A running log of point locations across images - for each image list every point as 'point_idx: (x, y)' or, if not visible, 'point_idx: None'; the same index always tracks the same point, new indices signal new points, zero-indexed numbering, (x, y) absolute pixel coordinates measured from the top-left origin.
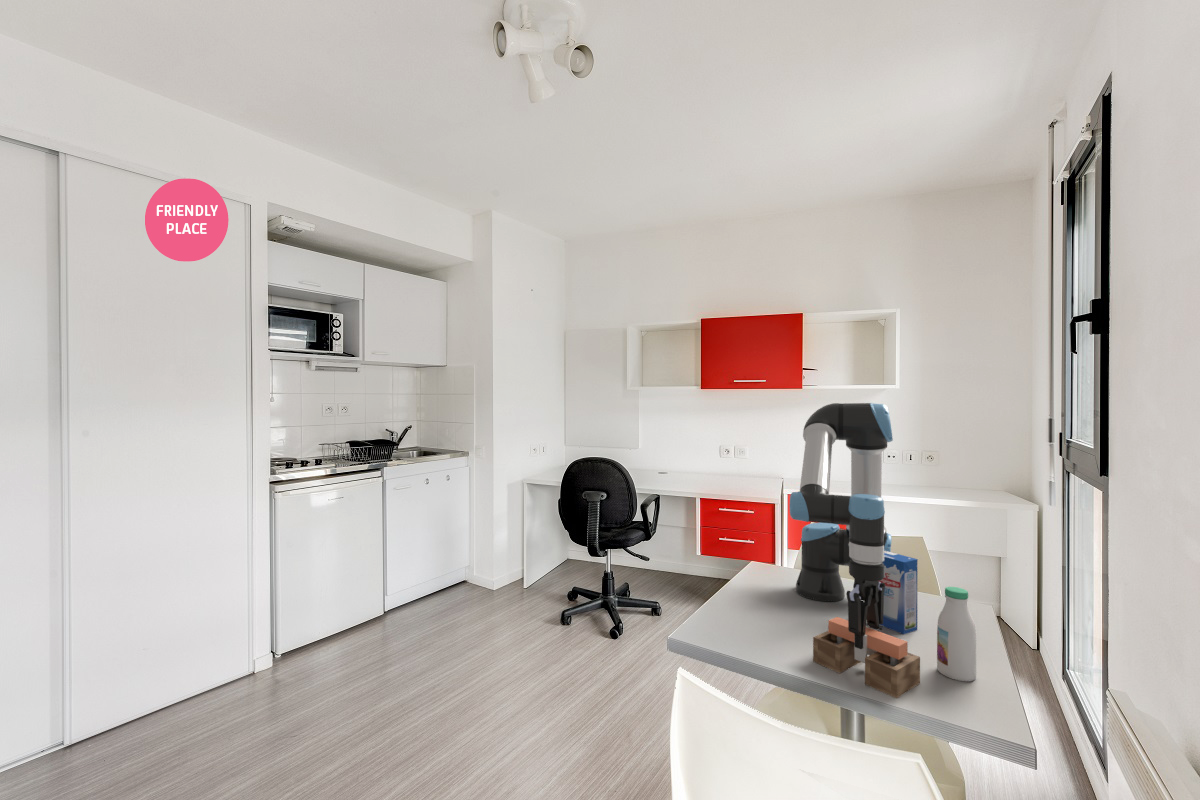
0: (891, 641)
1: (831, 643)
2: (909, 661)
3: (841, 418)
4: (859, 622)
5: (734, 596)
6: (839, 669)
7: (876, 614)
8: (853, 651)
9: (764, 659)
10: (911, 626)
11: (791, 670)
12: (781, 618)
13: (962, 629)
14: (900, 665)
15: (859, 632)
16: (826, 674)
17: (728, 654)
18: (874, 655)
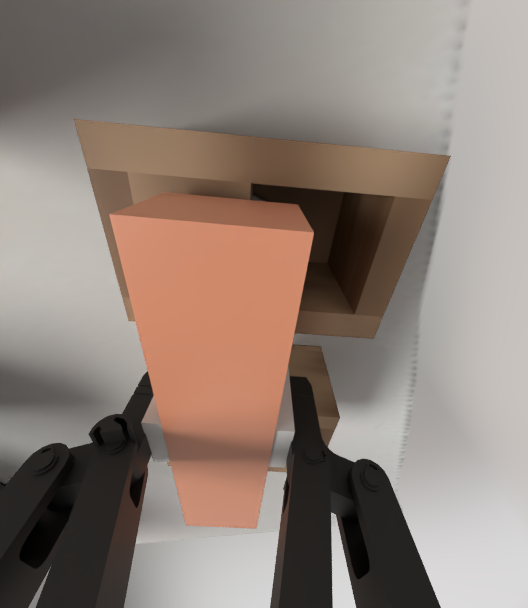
0: (255, 316)
1: (323, 440)
2: (224, 149)
3: None
4: (411, 592)
5: (164, 534)
6: (322, 355)
7: (82, 587)
8: None
9: (372, 448)
10: None
11: (388, 409)
12: (163, 487)
13: None
14: (344, 171)
15: (382, 482)
16: (352, 363)
17: (395, 479)
18: (311, 322)
